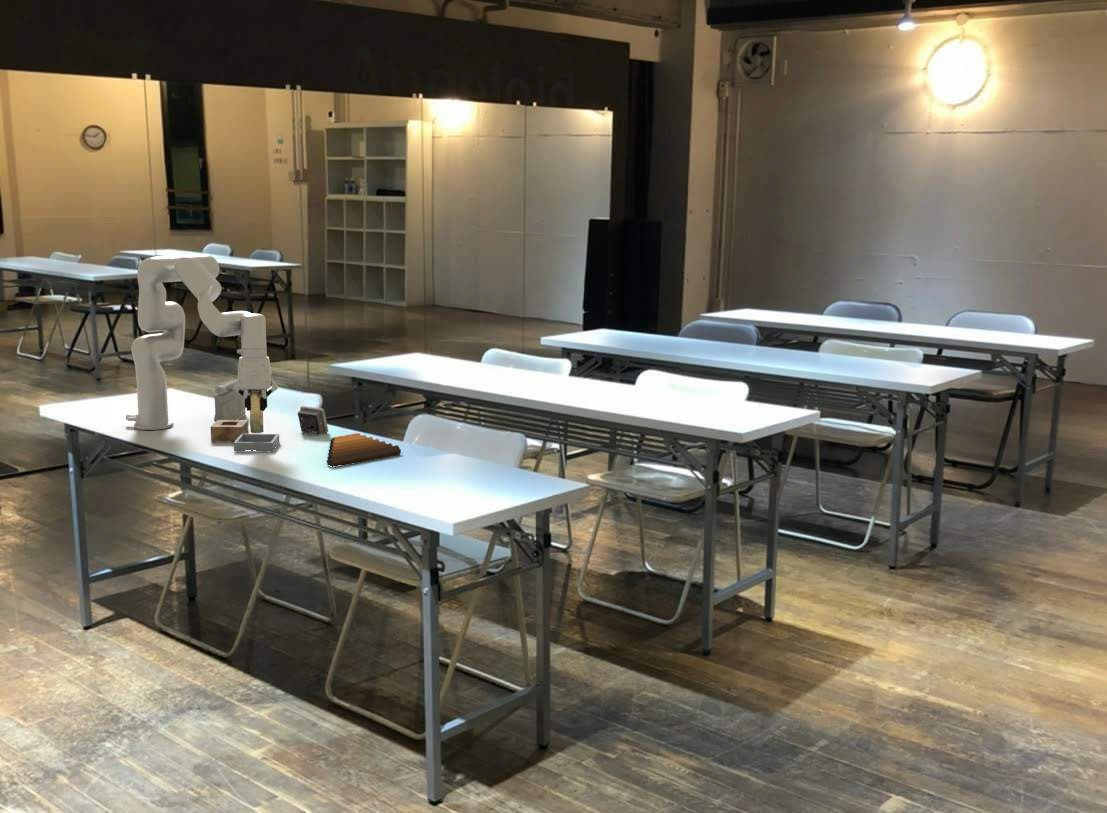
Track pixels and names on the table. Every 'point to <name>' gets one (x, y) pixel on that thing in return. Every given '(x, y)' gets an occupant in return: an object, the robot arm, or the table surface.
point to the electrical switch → (312, 420)
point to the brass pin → (256, 411)
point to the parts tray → (256, 442)
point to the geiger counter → (228, 403)
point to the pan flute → (358, 449)
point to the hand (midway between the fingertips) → (256, 409)
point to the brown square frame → (228, 430)
